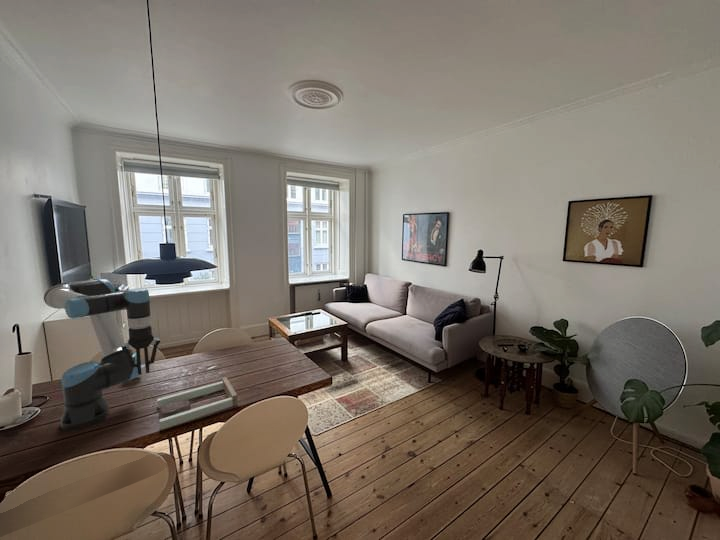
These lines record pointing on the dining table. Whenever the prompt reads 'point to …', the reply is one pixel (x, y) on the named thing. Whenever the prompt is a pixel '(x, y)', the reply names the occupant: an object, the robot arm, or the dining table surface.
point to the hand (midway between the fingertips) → (144, 380)
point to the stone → (174, 409)
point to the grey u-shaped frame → (200, 410)
